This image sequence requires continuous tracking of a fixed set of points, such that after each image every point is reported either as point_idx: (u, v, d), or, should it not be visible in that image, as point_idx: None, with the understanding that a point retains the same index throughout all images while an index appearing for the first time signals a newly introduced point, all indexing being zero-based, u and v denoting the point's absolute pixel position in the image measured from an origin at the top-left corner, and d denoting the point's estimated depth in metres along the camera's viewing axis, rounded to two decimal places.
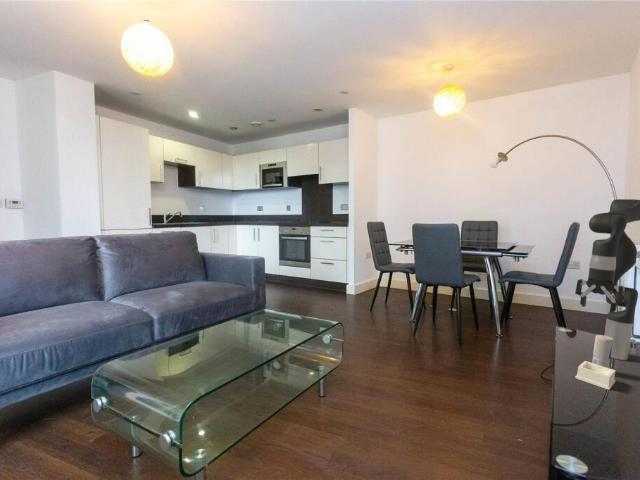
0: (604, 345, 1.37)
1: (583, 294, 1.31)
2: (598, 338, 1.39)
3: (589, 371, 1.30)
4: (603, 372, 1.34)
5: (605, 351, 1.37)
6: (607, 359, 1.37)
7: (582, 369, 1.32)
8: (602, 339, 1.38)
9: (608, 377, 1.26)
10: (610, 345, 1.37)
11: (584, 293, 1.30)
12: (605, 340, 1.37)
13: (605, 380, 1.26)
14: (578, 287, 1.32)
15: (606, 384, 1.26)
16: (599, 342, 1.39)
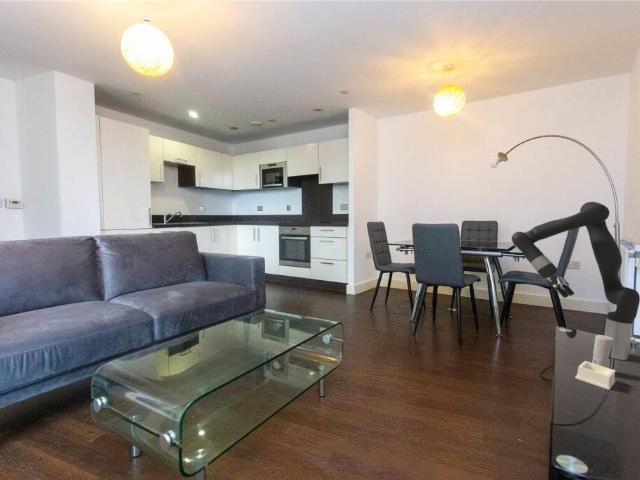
0: (604, 345, 1.37)
1: None
2: (598, 338, 1.39)
3: (589, 371, 1.30)
4: (603, 372, 1.34)
5: (605, 351, 1.37)
6: (607, 359, 1.37)
7: (582, 369, 1.32)
8: (602, 339, 1.38)
9: (608, 377, 1.26)
10: (610, 345, 1.37)
11: None
12: (605, 340, 1.37)
13: (605, 380, 1.26)
14: None
15: (606, 384, 1.26)
16: (599, 342, 1.39)
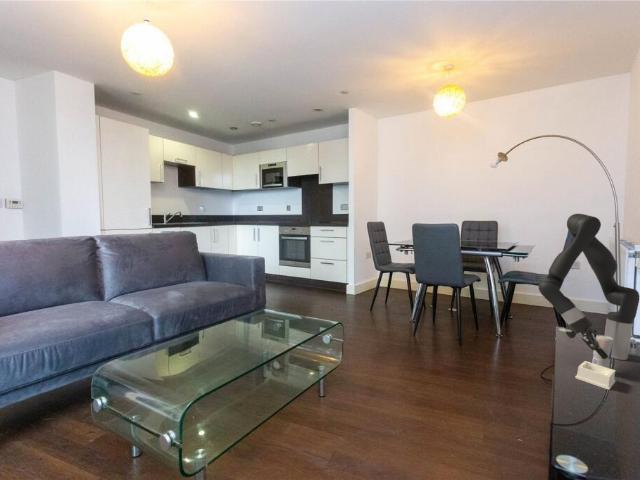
0: (604, 346, 1.37)
1: None
2: (598, 338, 1.39)
3: (589, 371, 1.30)
4: (603, 372, 1.34)
5: (605, 351, 1.37)
6: (607, 359, 1.37)
7: (582, 369, 1.32)
8: (602, 339, 1.38)
9: (608, 377, 1.26)
10: (610, 345, 1.37)
11: None
12: (605, 340, 1.37)
13: (605, 380, 1.26)
14: None
15: (606, 384, 1.26)
16: (599, 342, 1.39)
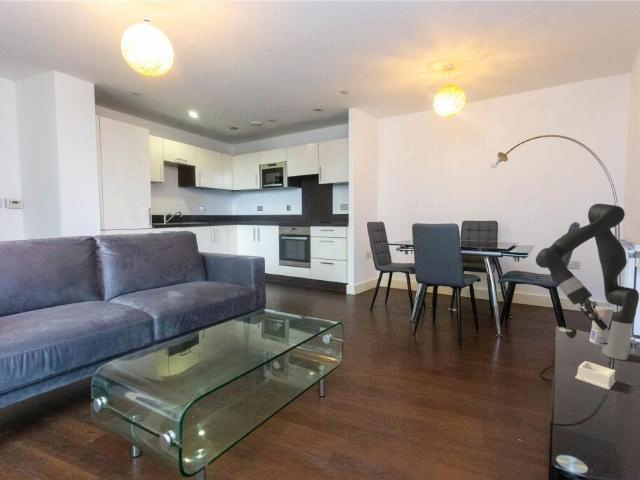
0: (604, 316, 1.29)
1: None
2: (597, 308, 1.31)
3: (589, 371, 1.30)
4: (603, 372, 1.34)
5: (604, 321, 1.29)
6: (607, 330, 1.29)
7: (582, 369, 1.32)
8: (602, 309, 1.29)
9: (608, 377, 1.26)
10: (610, 315, 1.29)
11: None
12: (605, 310, 1.29)
13: (605, 380, 1.26)
14: None
15: (606, 384, 1.26)
16: (598, 312, 1.30)
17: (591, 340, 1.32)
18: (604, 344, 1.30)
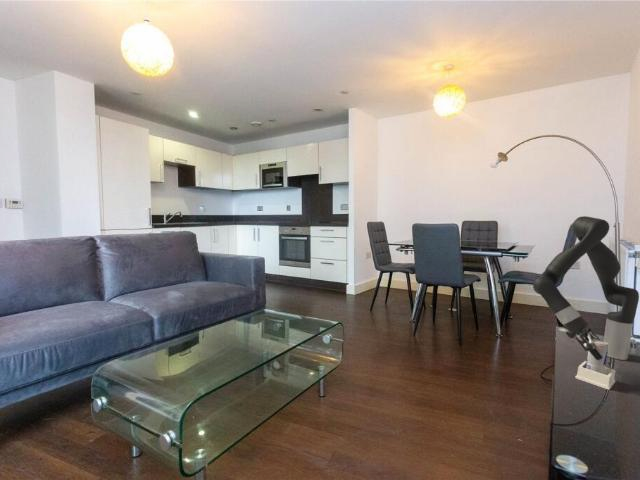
0: (598, 350, 1.29)
1: None
2: None
3: (589, 371, 1.30)
4: None
5: None
6: (602, 365, 1.29)
7: (582, 369, 1.32)
8: (596, 344, 1.30)
9: (608, 377, 1.26)
10: (605, 350, 1.29)
11: None
12: (599, 345, 1.29)
13: (605, 380, 1.26)
14: None
15: (606, 384, 1.26)
16: None
17: None
18: None
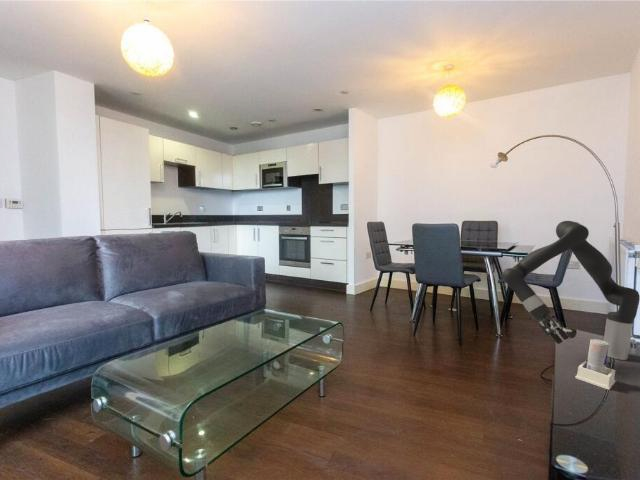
0: (599, 351, 1.29)
1: None
2: (593, 343, 1.31)
3: (589, 371, 1.30)
4: None
5: (599, 356, 1.29)
6: (602, 365, 1.29)
7: (582, 369, 1.32)
8: (597, 344, 1.30)
9: (608, 377, 1.26)
10: (605, 350, 1.29)
11: None
12: (600, 345, 1.29)
13: (605, 380, 1.26)
14: None
15: (606, 384, 1.26)
16: (594, 347, 1.30)
17: None
18: None
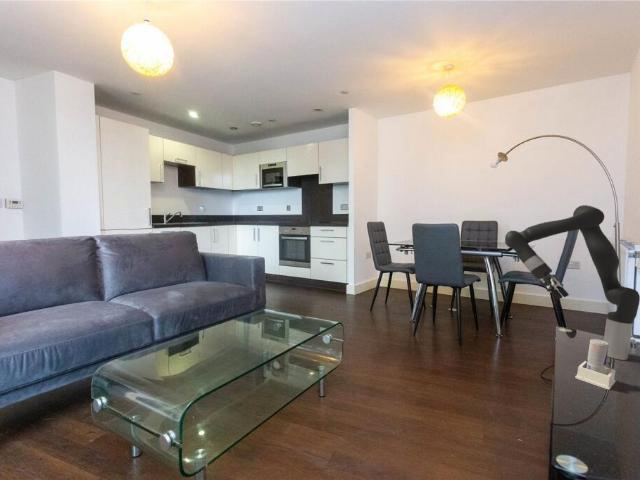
0: (599, 351, 1.29)
1: None
2: (592, 343, 1.31)
3: (589, 371, 1.30)
4: None
5: (599, 356, 1.29)
6: (602, 365, 1.29)
7: (582, 369, 1.32)
8: (597, 344, 1.30)
9: (608, 377, 1.26)
10: (605, 350, 1.29)
11: None
12: (600, 345, 1.29)
13: (605, 380, 1.26)
14: None
15: (606, 384, 1.26)
16: (593, 347, 1.30)
17: None
18: None
